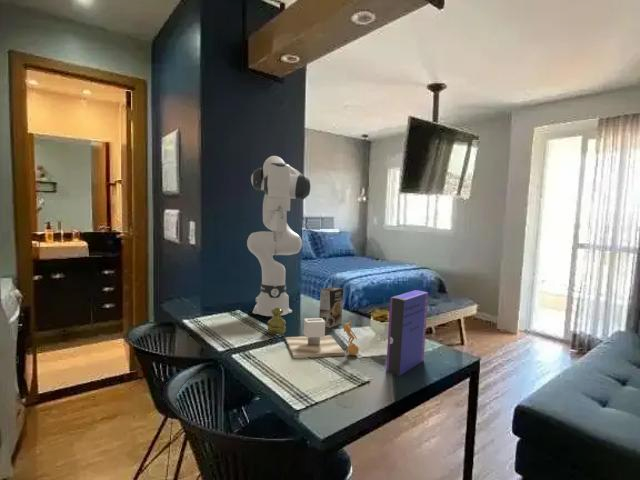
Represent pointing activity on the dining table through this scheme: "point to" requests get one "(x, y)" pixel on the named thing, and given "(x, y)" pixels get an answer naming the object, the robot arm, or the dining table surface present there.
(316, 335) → the keyed cap
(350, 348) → the figurine
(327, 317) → the coffee box
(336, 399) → the dining table surface
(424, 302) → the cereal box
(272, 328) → the gold vase
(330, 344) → the block
